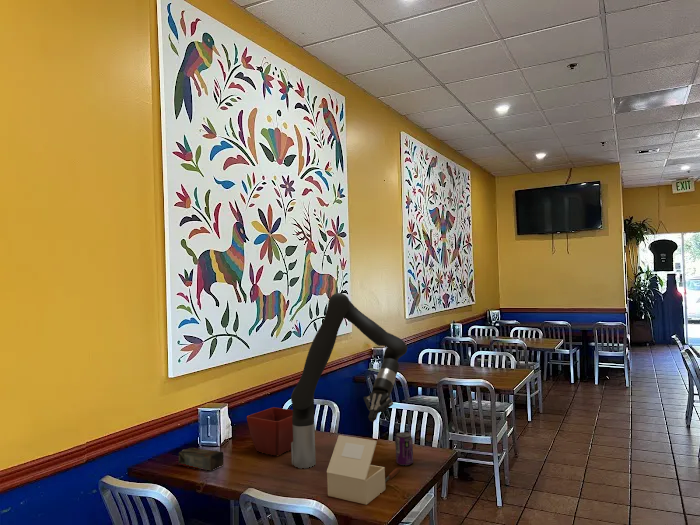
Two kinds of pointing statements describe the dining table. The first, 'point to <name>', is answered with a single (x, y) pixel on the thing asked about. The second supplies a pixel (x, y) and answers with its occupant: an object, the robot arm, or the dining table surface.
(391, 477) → the screwdriver
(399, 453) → the beverage can
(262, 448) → the plant pot
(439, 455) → the dining table surface
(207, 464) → the dark brown block
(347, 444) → the box lid
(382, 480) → the cardboard box
